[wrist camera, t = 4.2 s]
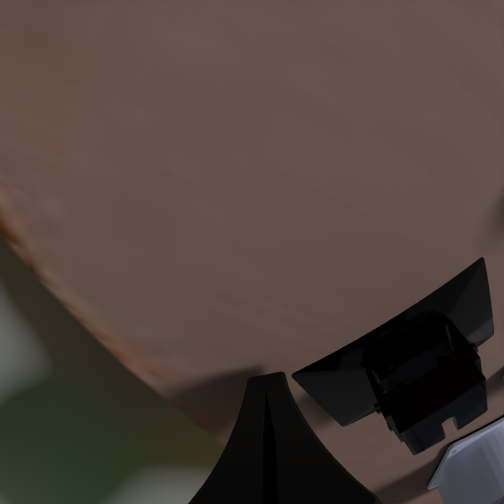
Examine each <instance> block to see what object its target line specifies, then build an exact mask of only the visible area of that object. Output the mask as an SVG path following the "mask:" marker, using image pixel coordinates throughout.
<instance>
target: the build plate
mask: <svg viewBox="0 0 504 504" xmlns="http://www.w3.org/2000/svg"><path fill="white" fill-rule="evenodd" d="M493 334H494V325H493V315H492V306H491V298H490V291H489V284H488V278H487V272H486V266H485V260H484V258H483V257H481V258H480V259H478V260H477V261H476V262H474V263H473V264H472V265H470V266H469V267H468V268H466V269H465V270H464V271H462V272H461V273H460V274H458V275H457V276H455V277H454V278H453V279H451V280H450V281H448V282H447V283H446V284H444V285H443V286H441V287H440V288H438V289H437V290H435V291H434V292H433V293H431V294H430V295H428V296H427V297H425V298H424V299H422V300H421V301H419V302H418V303H416V304H415V305H413V306H411V307H410V308H408V309H407V310H405V311H404V312H402V313H400V314H399V315H397V316H396V317H394V318H392V319H391V320H389V321H388V322H386V323H384V324H383V325H381V326H379V327H378V328H376V329H374V330H373V331H371V332H369V333H367V334H366V335H364V336H362V337H360V338H359V339H357V340H355V341H353V342H352V343H350V344H348V345H346V346H345V347H343V348H341V349H339V350H337V351H335V352H334V353H332V354H330V355H328V356H326V357H324V358H322V359H320V360H318V361H316V362H315V363H313V364H311V365H309V366H307V367H305V368H303V369H301V370H299V371H297V372H295V373H293V374H292V378H293V379H294V380H295V381H296V382H297V383H298V384H299V385H300V386H301V387H302V388H303V389H304V390H305V391H306V392H307V393H308V394H309V395H310V396H311V397H312V398H313V399H314V400H315V401H316V402H317V403H318V404H319V405H320V406H321V407H322V408H323V409H324V410H325V411H326V412H328V413H329V414H330V415H331V416H332V417H333V418H334V419H335V420H336V421H337V422H338V423H339V424H340V425H341V426H343V427H344V426H347V425H349V424H352V423H354V422H356V421H358V420H360V419H362V418H364V417H366V416H368V415H370V414H372V413H374V412H375V411H376V412H377V413H378V414H380V413H382V414H383V416H384V418H385V420H386V421H387V425H388V428H389V430H390V431H394V432H395V434H396V435H397V437H398V438H399V439H400V441H401V442H403V441H404V442H405V443H406V445H407V446H408V448H409V449H410V451H411V452H412V454H413V455H417V454H418V453H420V452H422V451H424V450H426V449H428V448H429V447H431V446H433V445H435V444H436V443H438V442H440V441H442V440H443V439H445V438H446V435H445V432H444V429H443V426H442V423H443V422H444V421H445V420H447V419H448V418H450V417H452V418H453V422H454V425H455V427H456V428H457V430H459V429H461V428H463V427H464V426H466V425H467V424H469V423H470V422H472V421H473V420H475V419H476V418H478V417H479V416H480V415H482V414H483V413H485V412H486V411H487V410H488V407H487V387H486V378H485V376H484V375H483V373H482V368H481V360H480V357H479V355H478V354H477V353H478V349H477V347H479V346H480V345H481V344H483V343H484V342H485V341H486V340H488V339H489V338H490V337H491V336H493Z"/></svg>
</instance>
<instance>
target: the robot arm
mask: <svg viewBox="0 0 504 504" xmlns="http://www.w3.org/2000/svg"><path fill="white" fill-rule="evenodd" d="M427 487H428V489H429V490H430V489H433V488H435V487H438V490H439V492H440V495H441V497H442V500H443V503H444V504H504V417H503V418H501V419H499V420H498V421H496V422H494V423H492V424H491V425H489V426H487V427H485V428H483V429H481V430H479V431H477V432H475V433H473V434H472V435H470V436H467V437H465V438H463V439H461V440H459V441H457V442H455V443H453V444H452V445H450V446H449V447H448V449H447V451H446V453H445V455H444V457H443V459H442V461H441V463H440V465H439V467H438V469H437V470H436V472H435V474H434V476H433V478H432V479H431V481H430V483H429V485H428V486H427ZM188 504H382V503H381V501H380V500H379V499H378V497H377V496H376V495H374V494H373V493H372V492H371V491H369V490H368V489H367V488H366V487H364V486H363V485H362V484H361V483H360V482H359V481H357V480H356V479H355V478H354V477H353V476H352V475H351V474H350V473H349V472H348V471H347V470H346V469H345V468H344V467H343V466H342V465H341V464H340V463H339V462H338V461H337V460H336V459H335V458H334V457H333V456H332V454H331V453H330V452H329V451H328V450H327V449H326V447H325V446H324V445H323V444H322V442H321V441H320V440H319V438H318V437H317V436H316V434H315V433H314V432H313V430H312V429H311V427H310V426H309V424H308V423H307V421H306V420H305V418H304V416H303V415H302V413H301V411H300V409H299V408H298V406H297V404H296V402H295V400H294V398H293V396H292V394H291V392H290V389H289V387H288V383H287V379H286V375H285V373H284V372H282V371H281V372H277V373H272V374H267V375H262V376H256V377H251V378H249V379H248V382H247V387H246V392H245V396H244V400H243V403H242V406H241V410H240V412H239V415H238V418H237V421H236V424H235V426H234V429H233V431H232V434H231V436H230V438H229V441H228V443H227V445H226V447H225V449H224V451H223V453H222V455H221V457H220V459H219V461H218V462H217V464H216V466H215V467H214V469H213V471H212V472H211V474H210V475H209V477H208V479H207V480H206V481H205V483H204V484H203V486H202V487H201V488H200V489H199V491H198V492H197V493H196V495H195V496H194V497H193V498H192V500H191V501H190V502H189V503H188Z"/></svg>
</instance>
